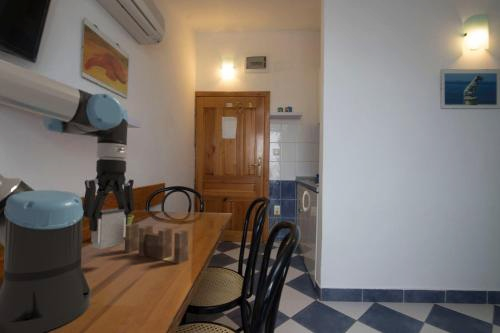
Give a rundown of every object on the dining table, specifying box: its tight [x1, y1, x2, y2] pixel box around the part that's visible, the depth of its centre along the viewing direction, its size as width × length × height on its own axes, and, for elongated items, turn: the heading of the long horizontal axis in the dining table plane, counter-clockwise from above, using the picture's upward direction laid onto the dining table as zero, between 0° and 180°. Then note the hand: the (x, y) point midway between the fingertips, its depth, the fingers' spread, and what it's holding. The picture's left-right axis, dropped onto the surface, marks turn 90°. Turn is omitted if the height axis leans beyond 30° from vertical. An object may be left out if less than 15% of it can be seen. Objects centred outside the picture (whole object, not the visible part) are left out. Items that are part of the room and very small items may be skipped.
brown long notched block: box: [124, 223, 189, 265], centre depth 82 cm, size 4×24×9 cm, turn 65°
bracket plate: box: [93, 207, 125, 250], centre depth 72 cm, size 7×3×10 cm, turn 155°
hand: (109, 239), depth 72 cm, fingers closed on bracket plate, 7 cm apart
